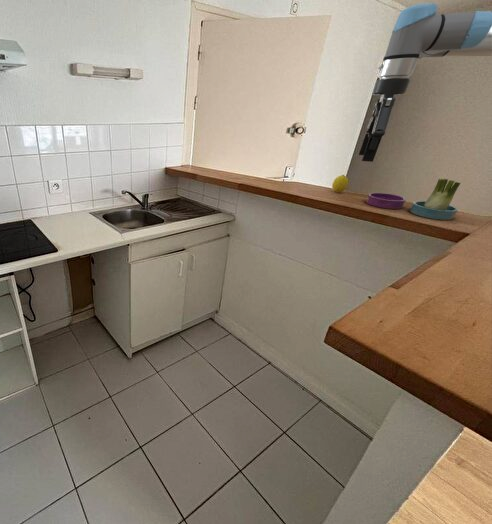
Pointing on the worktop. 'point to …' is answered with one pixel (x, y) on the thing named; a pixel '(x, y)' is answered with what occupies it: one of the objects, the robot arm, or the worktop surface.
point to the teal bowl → (433, 211)
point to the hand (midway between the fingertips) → (365, 158)
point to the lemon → (340, 183)
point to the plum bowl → (385, 200)
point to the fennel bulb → (442, 195)
